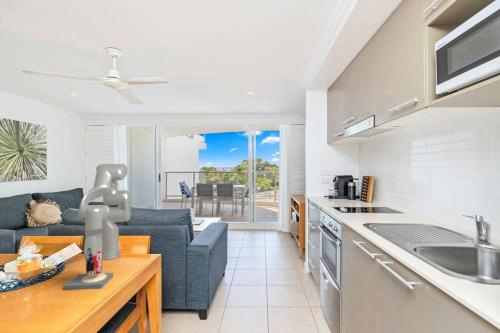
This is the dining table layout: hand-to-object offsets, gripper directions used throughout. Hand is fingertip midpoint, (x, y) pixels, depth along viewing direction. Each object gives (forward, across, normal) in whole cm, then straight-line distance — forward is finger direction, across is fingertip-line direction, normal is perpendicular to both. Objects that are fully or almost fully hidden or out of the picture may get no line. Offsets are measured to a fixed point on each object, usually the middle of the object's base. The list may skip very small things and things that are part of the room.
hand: (94, 267), depth 134 cm
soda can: (+3, 0, 0) cm, 3 cm away
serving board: (+8, 0, -2) cm, 8 cm away
